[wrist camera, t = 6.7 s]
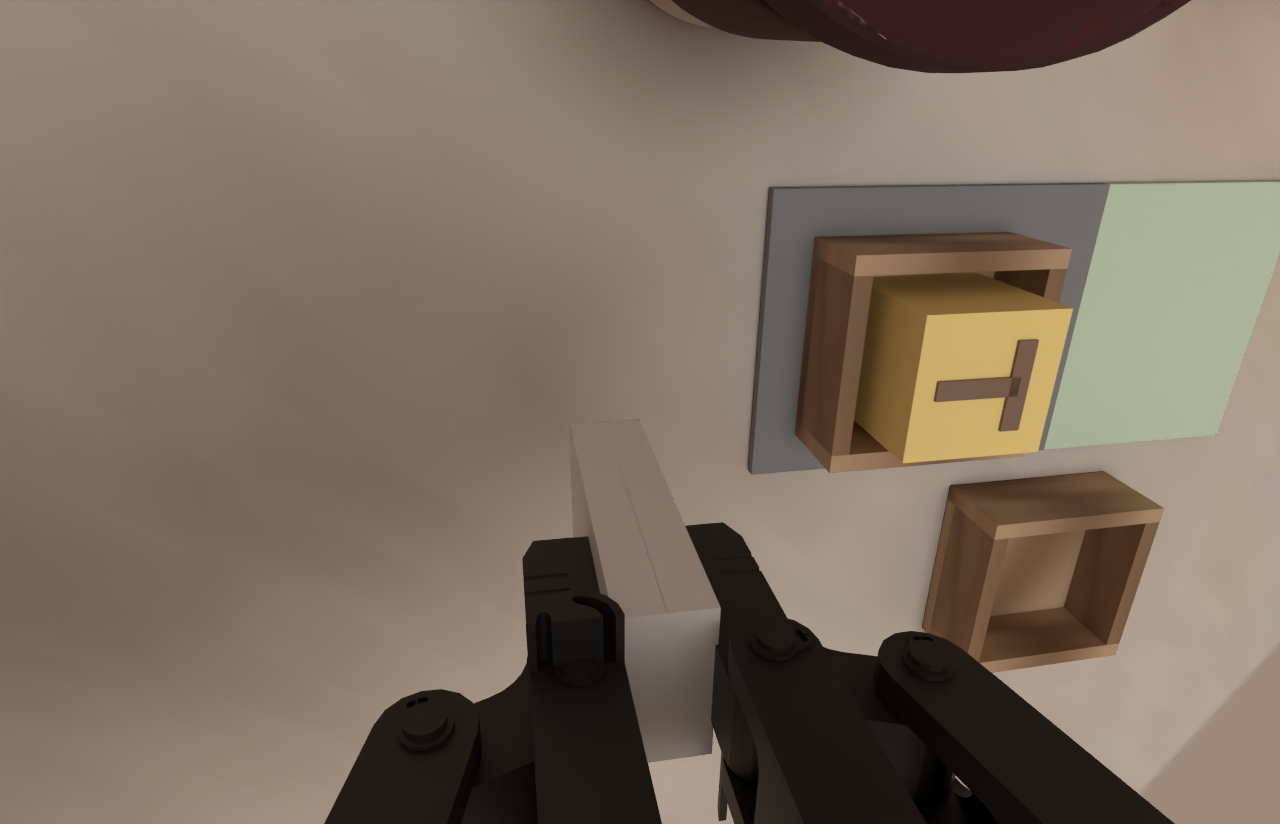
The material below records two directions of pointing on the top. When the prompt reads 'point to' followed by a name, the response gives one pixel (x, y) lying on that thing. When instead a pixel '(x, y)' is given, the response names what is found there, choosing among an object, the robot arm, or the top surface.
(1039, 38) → the coffee cup
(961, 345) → the letter cube
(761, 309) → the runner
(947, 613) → the box
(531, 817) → the robot arm
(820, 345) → the box
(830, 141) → the top surface
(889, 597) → the top surface
